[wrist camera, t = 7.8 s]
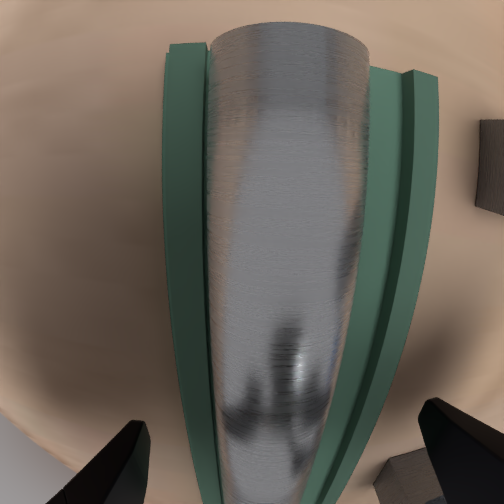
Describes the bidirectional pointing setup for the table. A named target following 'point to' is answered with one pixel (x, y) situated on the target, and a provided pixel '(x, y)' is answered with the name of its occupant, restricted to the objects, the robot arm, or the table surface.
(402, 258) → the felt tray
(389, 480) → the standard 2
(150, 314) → the table surface
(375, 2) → the table surface
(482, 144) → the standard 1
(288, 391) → the rail
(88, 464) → the robot arm
